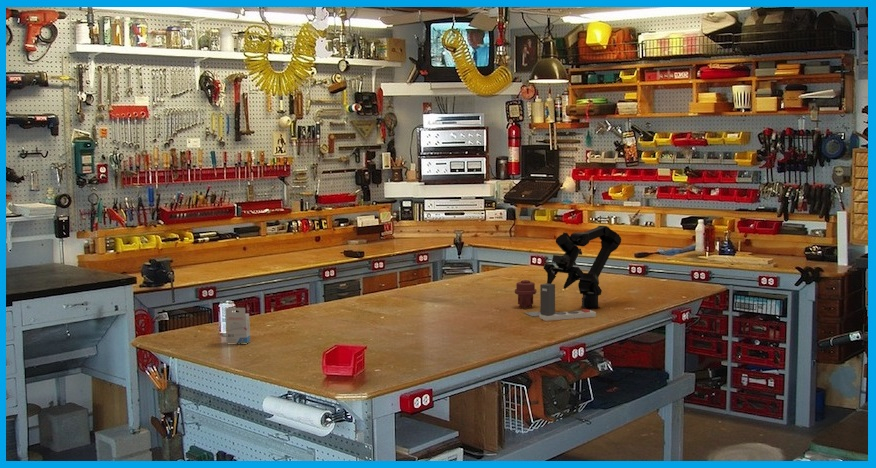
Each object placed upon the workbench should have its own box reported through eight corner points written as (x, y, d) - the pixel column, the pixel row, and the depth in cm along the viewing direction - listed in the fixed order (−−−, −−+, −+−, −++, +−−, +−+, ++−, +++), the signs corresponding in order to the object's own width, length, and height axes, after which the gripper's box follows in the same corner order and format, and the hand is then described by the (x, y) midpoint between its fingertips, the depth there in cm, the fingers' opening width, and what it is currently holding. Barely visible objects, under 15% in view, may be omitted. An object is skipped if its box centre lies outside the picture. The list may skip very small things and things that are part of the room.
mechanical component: (537, 305, 478) (535, 309, 468) (516, 305, 480) (513, 309, 470) (537, 279, 476) (535, 282, 466) (516, 278, 478) (513, 282, 468)
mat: (541, 312, 461) (541, 311, 461) (548, 315, 453) (548, 314, 453) (525, 313, 459) (525, 312, 459) (531, 316, 451) (531, 316, 451)
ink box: (250, 342, 409) (249, 305, 407) (247, 344, 404) (245, 307, 402) (230, 341, 410) (228, 305, 408) (226, 344, 405) (224, 307, 403)
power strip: (589, 314, 455) (589, 308, 455) (595, 316, 449) (596, 310, 449) (539, 318, 448) (539, 311, 448) (545, 320, 442) (545, 314, 442)
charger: (546, 312, 449) (546, 283, 447) (555, 313, 446) (555, 284, 444) (540, 314, 445) (540, 284, 444) (548, 315, 442) (548, 285, 441)
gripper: (544, 245, 458) (530, 275, 453) (578, 249, 445) (564, 279, 440) (556, 259, 465) (542, 288, 460) (590, 263, 452) (576, 293, 447)
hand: (555, 287), depth 451 cm, fingers open, 9 cm apart
